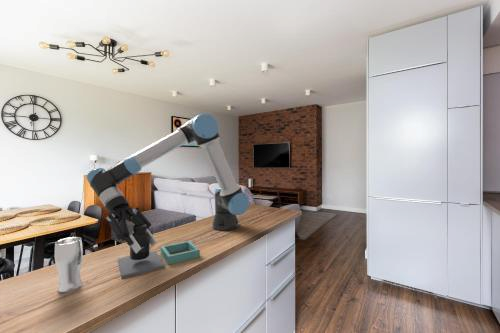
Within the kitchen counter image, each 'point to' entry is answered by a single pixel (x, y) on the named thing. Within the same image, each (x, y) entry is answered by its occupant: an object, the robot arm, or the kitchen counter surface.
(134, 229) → the supplement bottle
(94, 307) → the kitchen counter surface
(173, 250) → the teal collar
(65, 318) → the kitchen counter surface
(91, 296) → the kitchen counter surface
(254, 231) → the kitchen counter surface
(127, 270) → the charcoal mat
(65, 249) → the beer glass
